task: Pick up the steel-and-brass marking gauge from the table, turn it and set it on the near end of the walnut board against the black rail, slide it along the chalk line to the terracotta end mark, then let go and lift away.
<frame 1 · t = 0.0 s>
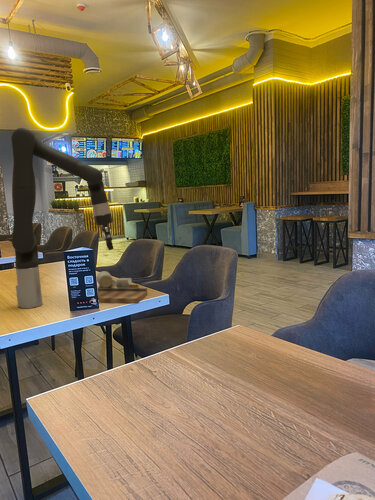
hand: (110, 248, 176), 22 cm above the table, tool pointing down, fingers open, 8 cm apart
marking gauge: (124, 291, 188), on the table
walnut board: (117, 298, 174), on the table
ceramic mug: (108, 286, 200), on the table
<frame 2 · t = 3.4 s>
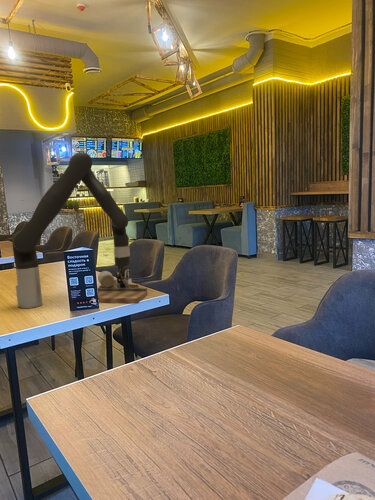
hand: (124, 289, 188), 0 cm above the table, tool pointing down, fingers closed on marking gauge, 4 cm apart
marking gauge: (124, 290, 188), on the table, touching gripper
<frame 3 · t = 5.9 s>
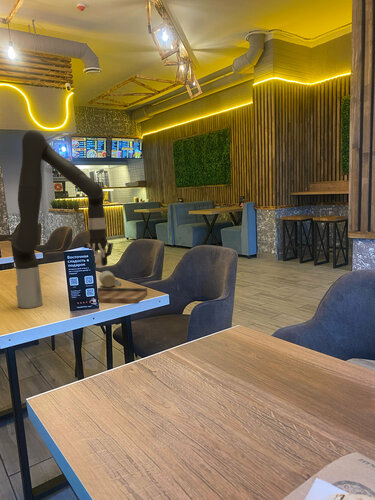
hand: (100, 265, 176), 15 cm above the table, tool pointing down, fingers closed on marking gauge, 4 cm apart
marking gauge: (100, 266, 176), point 15 cm above the table, touching gripper
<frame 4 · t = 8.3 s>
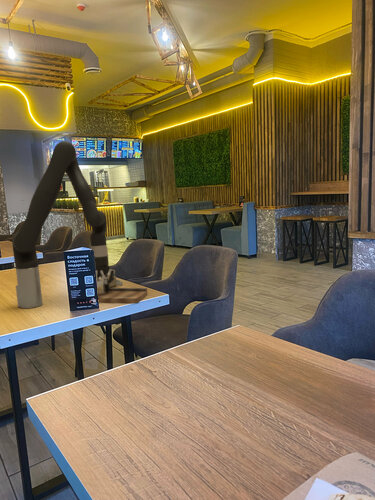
hand: (102, 291, 178), 3 cm above the table, tool pointing down, fingers closed on marking gauge, 4 cm apart
marking gauge: (102, 292, 178), point 2 cm above the table, touching gripper
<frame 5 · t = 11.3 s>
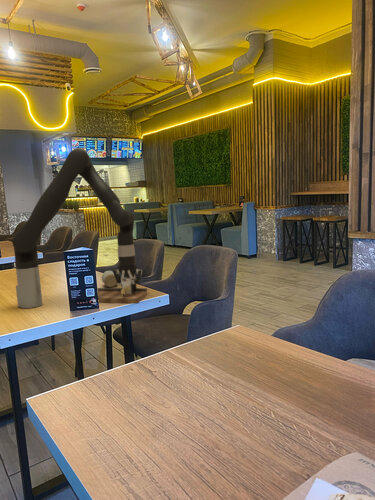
hand: (129, 291, 175), 3 cm above the table, tool pointing down, fingers closed on marking gauge, 4 cm apart
marking gauge: (129, 292, 175), point 2 cm above the table, touching gripper
when the fingers open (3 cm above the table, at t = 13.3 s): marking gauge stays where it is, resting on walnut board.
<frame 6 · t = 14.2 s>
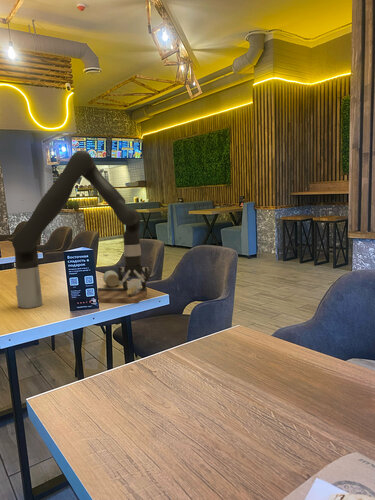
hand: (134, 289, 174), 4 cm above the table, tool pointing down, fingers open, 8 cm apart
marking gauge: (135, 293, 174), point 2 cm above the table, touching walnut board
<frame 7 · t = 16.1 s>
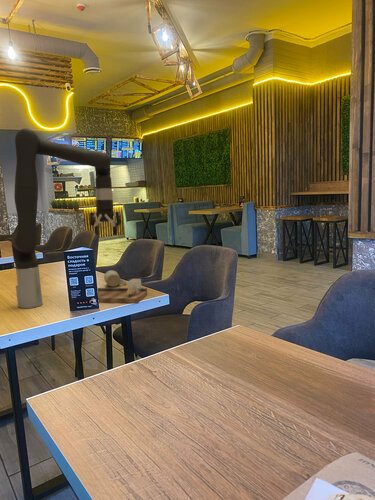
hand: (106, 235, 175), 29 cm above the table, tool pointing down, fingers open, 8 cm apart
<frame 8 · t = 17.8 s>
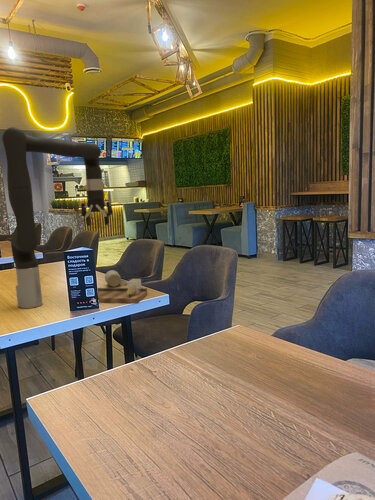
hand: (97, 225, 176), 33 cm above the table, tool pointing down, fingers open, 8 cm apart
at the end: marking gauge 0.2 cm from the target spot, point 2.0 cm above the table; marking gauge tilted 0°; the gripper is holding nothing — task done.
